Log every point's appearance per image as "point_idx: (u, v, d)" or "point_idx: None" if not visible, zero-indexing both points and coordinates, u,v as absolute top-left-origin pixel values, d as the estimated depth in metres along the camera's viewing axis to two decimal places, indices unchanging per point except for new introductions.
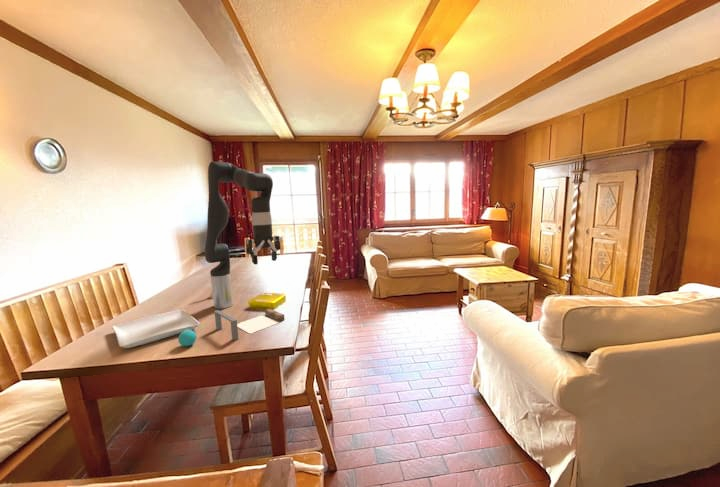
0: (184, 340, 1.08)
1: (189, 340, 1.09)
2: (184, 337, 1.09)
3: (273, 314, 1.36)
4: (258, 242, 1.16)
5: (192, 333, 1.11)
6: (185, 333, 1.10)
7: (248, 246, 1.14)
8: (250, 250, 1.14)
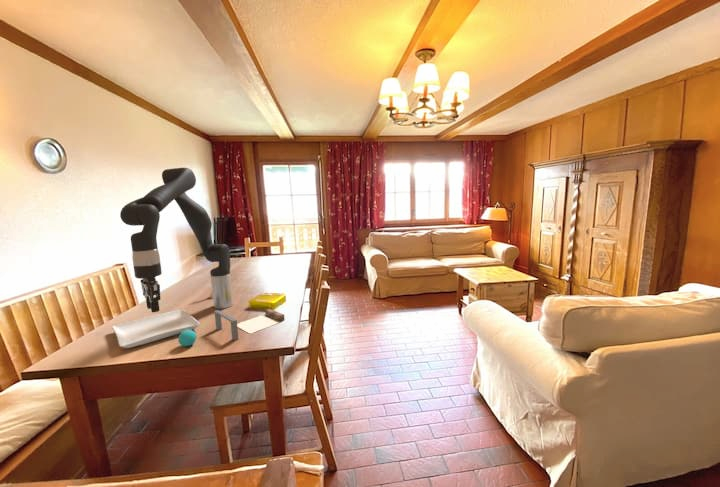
0: (184, 340, 1.08)
1: (189, 340, 1.09)
2: (184, 337, 1.09)
3: (273, 314, 1.36)
4: None
5: (192, 333, 1.11)
6: (185, 333, 1.10)
7: (157, 292, 0.97)
8: None
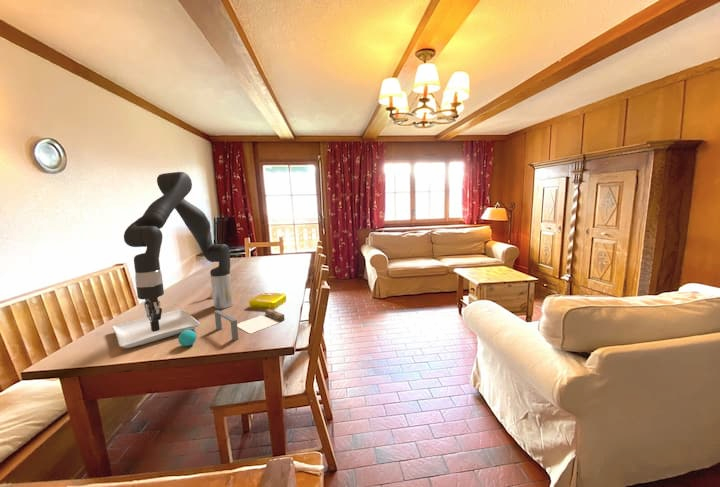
0: (184, 340, 1.08)
1: (189, 340, 1.09)
2: (184, 337, 1.09)
3: (273, 314, 1.36)
4: None
5: (192, 333, 1.11)
6: (185, 333, 1.10)
7: (158, 315, 1.00)
8: None
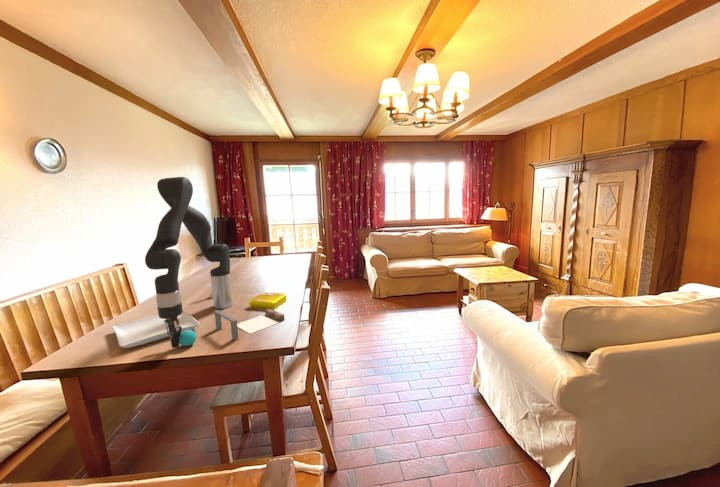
0: (184, 340, 1.08)
1: (189, 340, 1.09)
2: (184, 337, 1.09)
3: (273, 314, 1.36)
4: None
5: (192, 333, 1.11)
6: (185, 333, 1.10)
7: (178, 333, 1.05)
8: None
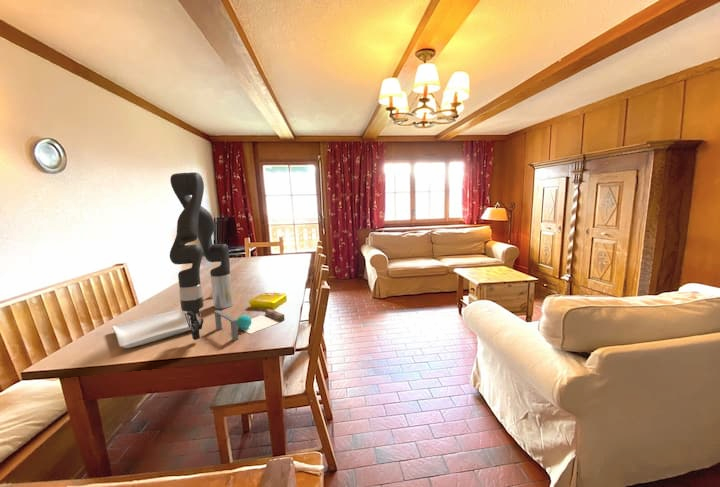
0: (243, 321, 1.22)
1: (247, 323, 1.23)
2: (244, 319, 1.23)
3: (273, 314, 1.36)
4: None
5: (250, 319, 1.25)
6: (246, 316, 1.24)
7: (200, 325, 1.10)
8: None
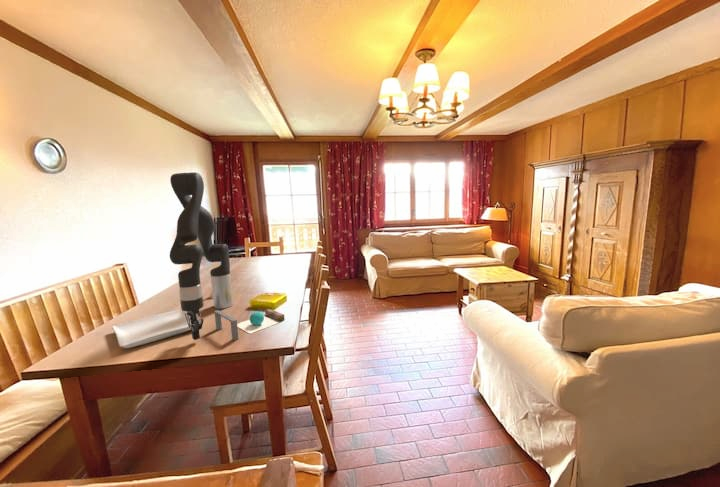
0: (262, 317, 1.28)
1: (259, 321, 1.27)
2: (263, 319, 1.28)
3: (273, 314, 1.36)
4: None
5: (259, 324, 1.28)
6: None
7: (200, 325, 1.10)
8: None
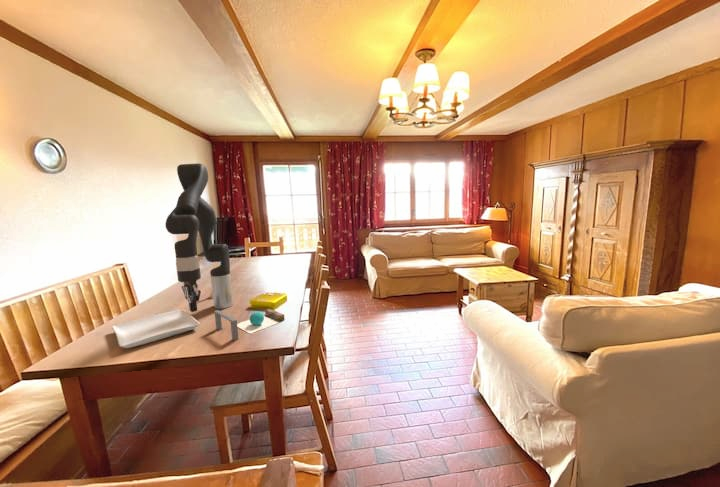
0: (262, 317, 1.28)
1: (259, 321, 1.27)
2: (263, 319, 1.28)
3: (273, 314, 1.36)
4: None
5: (259, 324, 1.28)
6: None
7: (197, 296, 1.09)
8: None
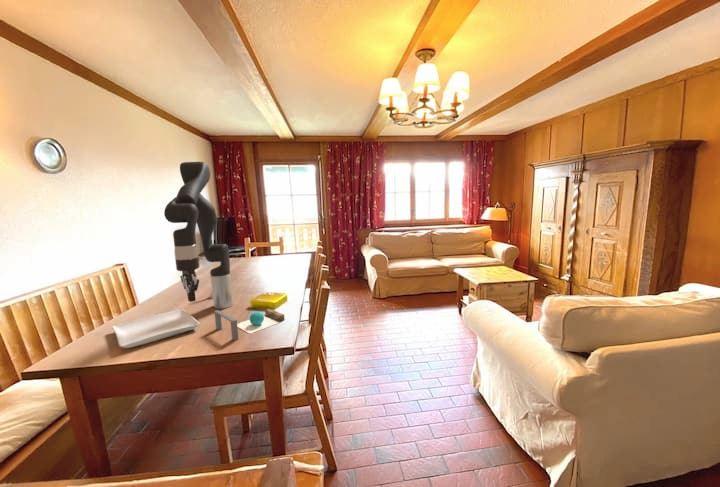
0: (262, 317, 1.28)
1: (259, 321, 1.27)
2: (263, 319, 1.28)
3: (273, 314, 1.36)
4: None
5: (259, 324, 1.28)
6: None
7: (196, 286, 1.08)
8: None
